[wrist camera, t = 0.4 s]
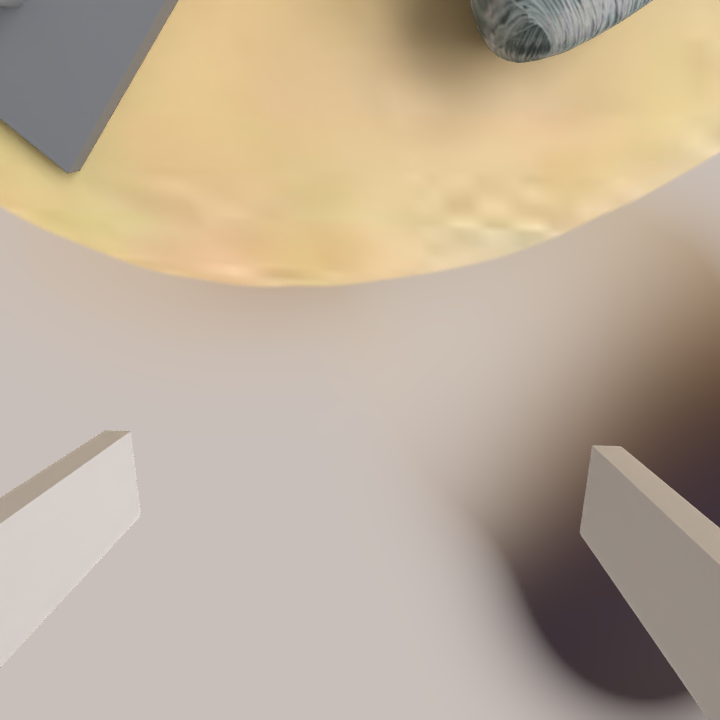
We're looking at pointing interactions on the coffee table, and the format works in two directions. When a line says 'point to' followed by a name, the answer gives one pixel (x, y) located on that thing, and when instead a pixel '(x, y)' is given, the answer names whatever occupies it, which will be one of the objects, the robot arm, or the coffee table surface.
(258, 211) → the coffee table surface
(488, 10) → the grey rounded piece
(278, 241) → the coffee table surface
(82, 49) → the hub plate
